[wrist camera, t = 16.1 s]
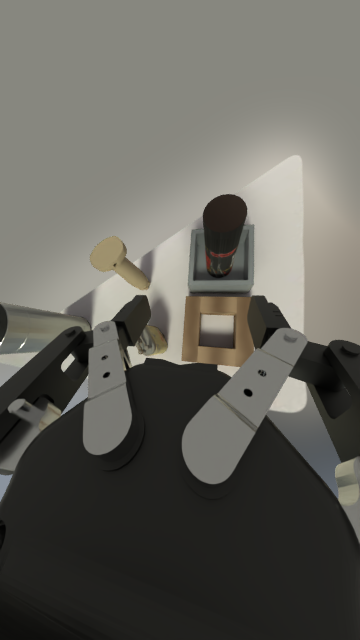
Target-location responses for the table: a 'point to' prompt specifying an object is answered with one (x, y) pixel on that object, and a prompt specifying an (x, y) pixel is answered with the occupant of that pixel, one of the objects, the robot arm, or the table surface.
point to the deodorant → (223, 232)
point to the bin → (240, 272)
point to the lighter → (151, 341)
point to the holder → (241, 333)
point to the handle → (117, 262)
